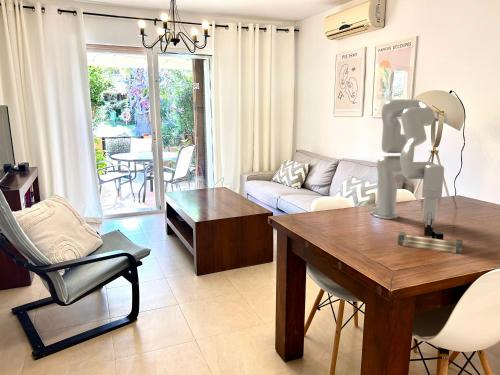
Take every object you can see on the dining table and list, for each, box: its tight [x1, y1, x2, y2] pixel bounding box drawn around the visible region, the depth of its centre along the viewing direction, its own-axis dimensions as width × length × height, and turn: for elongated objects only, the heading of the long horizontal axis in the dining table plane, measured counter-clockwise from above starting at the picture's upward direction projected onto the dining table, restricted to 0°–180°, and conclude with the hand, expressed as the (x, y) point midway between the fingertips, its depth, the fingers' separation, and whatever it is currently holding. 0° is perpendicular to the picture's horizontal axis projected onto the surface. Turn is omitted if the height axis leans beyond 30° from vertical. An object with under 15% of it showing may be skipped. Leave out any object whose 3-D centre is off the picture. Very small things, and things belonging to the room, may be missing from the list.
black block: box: [431, 230, 444, 240], centre depth 157 cm, size 12×7×5 cm, turn 176°
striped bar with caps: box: [397, 231, 464, 254], centre depth 151 cm, size 23×6×4 cm, turn 62°
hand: (428, 235), depth 161 cm, fingers closed
